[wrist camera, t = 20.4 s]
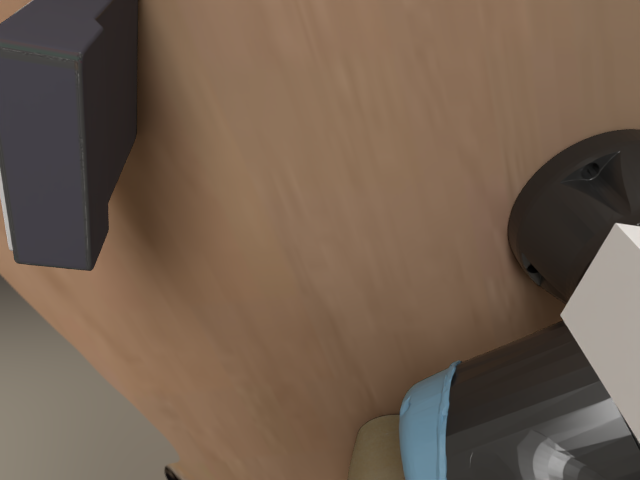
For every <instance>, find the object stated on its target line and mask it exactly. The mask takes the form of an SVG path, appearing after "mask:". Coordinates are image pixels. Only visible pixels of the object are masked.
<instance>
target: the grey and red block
mask: <svg viewBox="0 0 640 480" xmlns="http://www.w3.org/2000/svg"><path fill="white" fill-rule="evenodd" d="M137 44H138V0H32V1H31V2H29V3H28V4H26V5H25V6H24V7H22V8H21V9H19V10H18V11H17V12H15V13H14V14H13V15H12V16H10V17H9V18H8V19H6V20H5V21H3V22H2V23H1V24H0V197H1V203H2V209H3V216H4V222H5V228H6V234H7V241H8V246H9V249H10V250H11V251H13V254H14V260H15V262H16V263H19V264H27V265H37V266H47V267H56V268H66V269H76V270H87V271H91V270H92V269H93V268H94V266H95V263H96V261H97V258H98V256H99V253H100V251H101V248H102V246H103V243H104V241H105V238H106V236H107V233H108V230H109V224H108V202H109V200H110V197H111V195H112V193H113V190H114V188H115V186H116V183H117V181H118V179H119V176H120V174H121V171H122V169H123V167H124V164H125V162H126V160H127V157H128V155H129V153H130V150H131V148H132V146H133V143H134V141H135V139H136V132H137Z"/></svg>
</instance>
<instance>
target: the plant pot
mask: <svg viewBox="0 0 640 480" xmlns="http://www.w3.org/2000/svg"><path fill="white" fill-rule="evenodd" d="M399 421H400V415H386V416H381V417H378V418H375V419H373V420H370V421H369V422H367V423H366V424H365V425H363V426H362V427H361V429H360V430H359V432H358V435H357V438H356V442H355V446H354V450H353V454H352V459H351V463H350V468H349V473H348V479H347V480H405V476H404V471H403V465H402V459H401V452H400V442H399Z"/></svg>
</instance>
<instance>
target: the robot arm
mask: <svg viewBox="0 0 640 480" xmlns="http://www.w3.org/2000/svg"><path fill="white" fill-rule="evenodd" d="M508 235H509V242H510V246H511V249H512V251H513V253H514V255H515V257H516V258H517V260H518V262H519V263H520V265H521V267H522V268H523V270H524V271H525V273H526V274H527V275H528V276H529V277H530V278H531V279H532V280H533V281H534V282H535V283H537V284H538V285H539V286H541V287H542V288H543V289H545V290H546V291H548V292H549V293H550V294H552V295H553V296H555V297H556V298H557V299H559V300H560V301H562V302H563V303H564V304H566V306H565V308H564V310H563V311H562V313H561V315H560V316H561V317H562V319H563V321H561V322H559V323H556V324H554V325H552V326H549V327H547V328H545V329H542V330H540V331H538V332H535V333H533V334H530V335H528V336H526V337H523V338H521V339H519V340H516V341H514V342H512V343H509V344H507V345H504V346H502V347H499V348H497V349H494V350H492V351H489V352H487V353H484V354H482V355H479V356H477V357H474V358H472V359H469V360H467V361H464V362H462V361H460V360H458V361H456V362H453V363H452V364H451V365H450V366H449V368H447V369H445V370H443V371H441V372H439V373H436V374H434V375H432V376H430V377H428V378H426V379H424V380H422V381H420V382H418V383H416V384H415V385H413V386H412V387H411V388H410V389H409V390H408V392H407V393H406V395H405V397H404V399H403V401H402V405H401V409H400V421H399V442H400V452H401V459H402V465H403V471H404V476H405V480H640V130H636V129H626V130H617V131H611V132H606V133H602V134H599V135H596V136H593V137H590V138H587V139H585V140H582V141H580V142H578V143H576V144H574V145H572V146H570V147H569V148H567V149H565V150H564V151H562V152H560V153H559V154H558V155H556V156H555V157H553V158H552V159H551V160H549V161H548V162H547V163H546V164H545V165H544V166H542V167H541V168H540V169H539V170H538V171H537V172H536V173H535V174H534V176H533V177H532V178H531V179H530V180H529V181H528V183H527V184H526V185H525V187H524V188H523V190H522V191H521V193H520V194H519V196H518V198H517V200H516V202H515V204H514V206H513V209H512V212H511V216H510V220H509V227H508Z"/></svg>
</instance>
